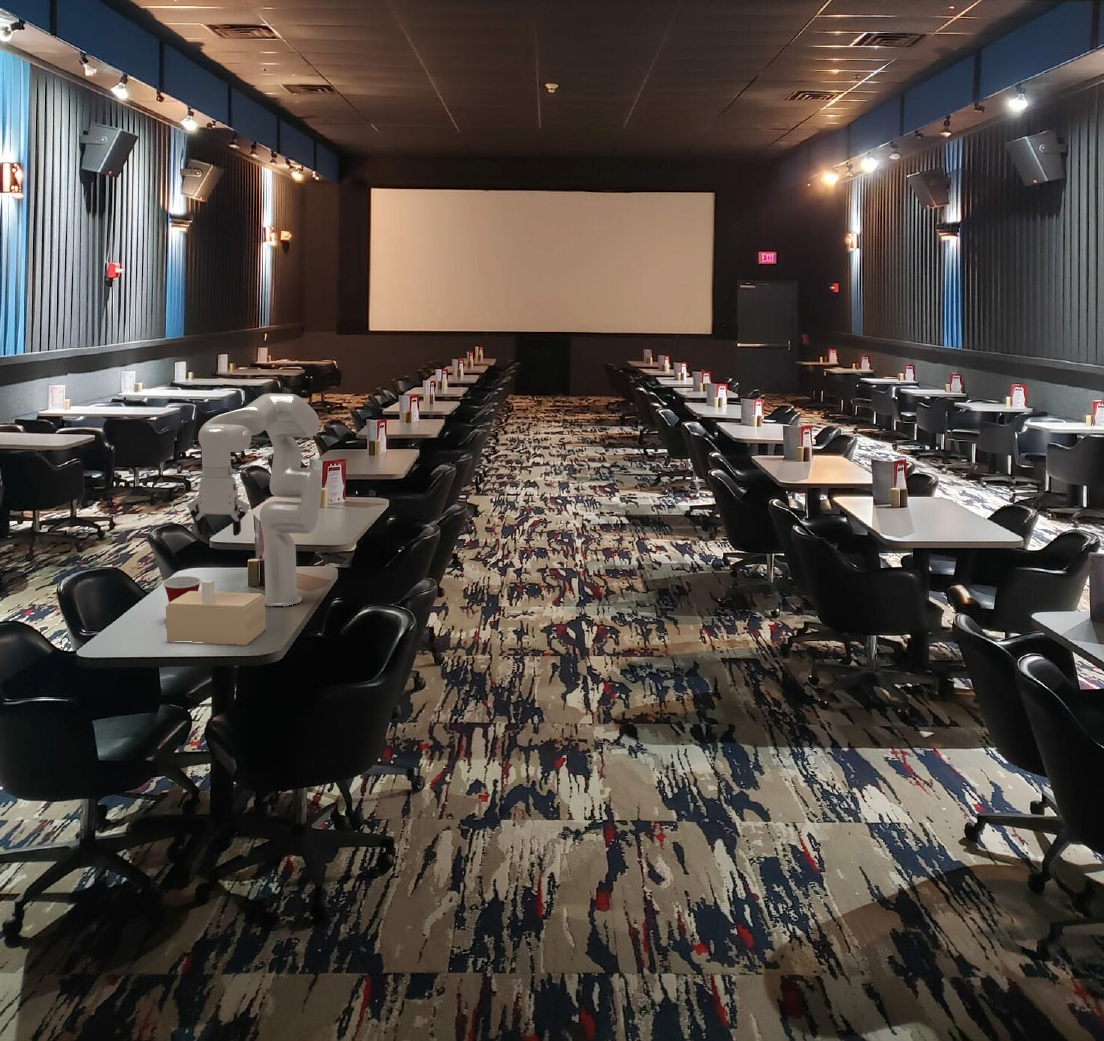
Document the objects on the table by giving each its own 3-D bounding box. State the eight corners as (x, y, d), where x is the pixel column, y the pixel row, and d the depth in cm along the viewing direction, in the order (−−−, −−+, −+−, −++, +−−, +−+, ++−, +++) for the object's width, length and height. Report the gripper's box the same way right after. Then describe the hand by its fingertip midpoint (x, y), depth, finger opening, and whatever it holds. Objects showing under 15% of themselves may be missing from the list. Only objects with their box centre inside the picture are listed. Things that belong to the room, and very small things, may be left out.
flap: (189, 593, 332) (188, 570, 331) (262, 595, 330) (261, 572, 329) (167, 605, 317) (166, 581, 316) (243, 608, 315) (243, 584, 314)
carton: (189, 627, 334) (188, 592, 333) (266, 629, 332) (265, 595, 331) (166, 642, 319) (164, 606, 317) (246, 645, 317) (245, 609, 315)
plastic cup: (161, 625, 335) (159, 584, 333) (166, 616, 346) (164, 576, 344) (201, 624, 338) (199, 583, 335) (204, 615, 348) (203, 575, 346)
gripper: (252, 471, 324) (254, 532, 327) (191, 470, 326) (194, 531, 329) (243, 475, 317) (245, 537, 320) (180, 474, 318) (183, 536, 321)
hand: (219, 534), depth 324 cm, fingers open, 9 cm apart
